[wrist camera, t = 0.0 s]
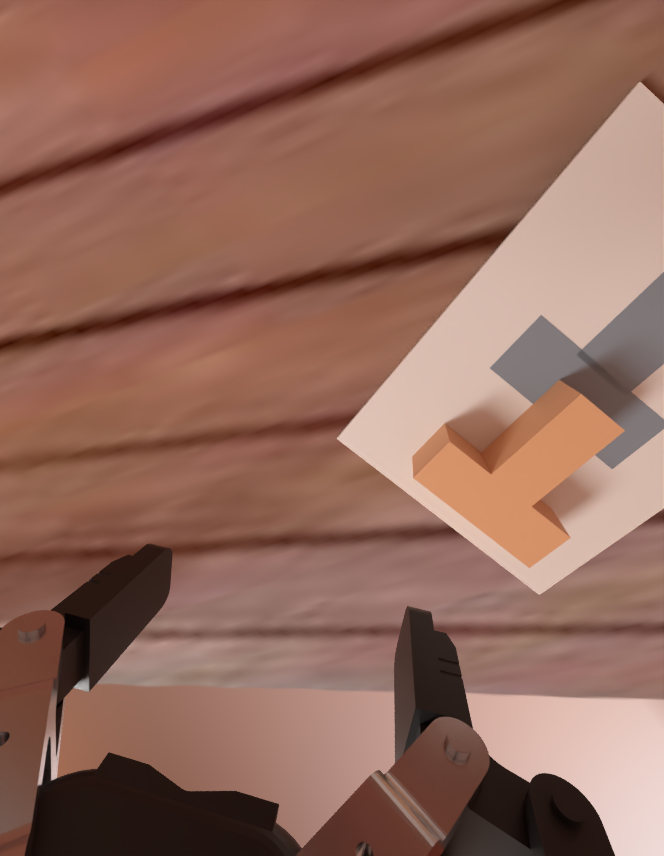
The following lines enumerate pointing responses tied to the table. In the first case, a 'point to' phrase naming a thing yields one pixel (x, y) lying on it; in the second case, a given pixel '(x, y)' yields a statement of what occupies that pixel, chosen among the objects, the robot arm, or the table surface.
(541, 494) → the t block
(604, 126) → the board
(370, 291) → the table surface
